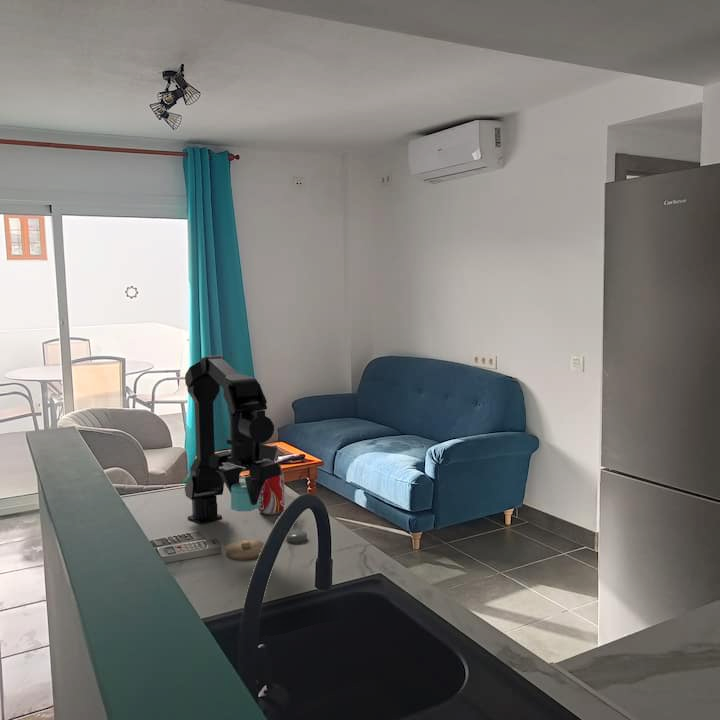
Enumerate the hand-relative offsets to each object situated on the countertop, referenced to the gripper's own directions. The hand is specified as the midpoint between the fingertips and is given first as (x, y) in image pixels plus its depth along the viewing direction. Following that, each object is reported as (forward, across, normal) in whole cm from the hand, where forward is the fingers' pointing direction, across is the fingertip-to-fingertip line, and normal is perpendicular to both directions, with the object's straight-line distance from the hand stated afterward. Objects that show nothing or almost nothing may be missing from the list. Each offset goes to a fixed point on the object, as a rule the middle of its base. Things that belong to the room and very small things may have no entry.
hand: (244, 501), depth 162 cm
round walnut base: (+12, 0, 0) cm, 12 cm away
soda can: (+12, +17, -23) cm, 31 cm away
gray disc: (+12, -3, -13) cm, 18 cm away
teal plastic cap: (+1, 0, 0) cm, 1 cm away
